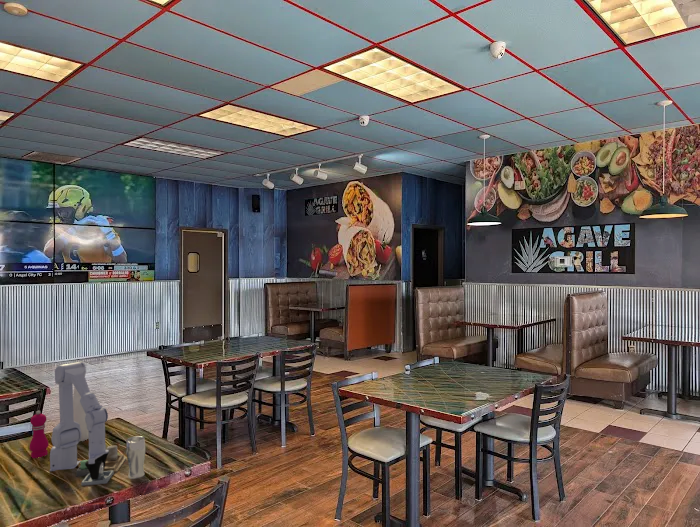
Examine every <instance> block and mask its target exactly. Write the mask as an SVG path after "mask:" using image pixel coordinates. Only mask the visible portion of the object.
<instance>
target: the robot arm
mask: <svg viewBox="0 0 700 527" xmlns="http://www.w3.org/2000/svg"><path fill="white" fill-rule="evenodd" d="M86 368H87V367H86V365H85V363H84V362H83V361H81V360H80V361H77V362H70V363H66V364H59V365H57V366H56V367H55V369H54V382H55V384H57V385H58V401H59V402H58V403H59V423H58V424H56V425H55V427H53V428H52V433H51V434H52V435H51V443H52V447H51V449H50V453H49V466H50V467H49V468H50V469H49V472H56V471H58V470H61V471H62V470H71V469H72V470H73V469H76V467H77V466H78V465H79V464H80V462H81V461H82V460H78V444H79V442H78V441H80V439H81V437H82V433H81V430H80V424H79V423H77V422H75V421H74V415H73V396H74V389H73V388H74V386H75V388H76V390H77V391H78V393H79V394H80V396H81V399H80V403H81V405H82V407H83V410H84V412H85V414H86V416H85V421H86V424H87V430H89V439H88V459H87V460H88V461H86V463H85V466H86V467H87V468H88V470H89V472H90V476H91V479H92V480H95V479H98V477H99V469H100V465H101V463H102V462H103V470H104V468H105V462H106V459H107V456H108V454H109V450H107V445H106V422H107V421H108V419H109V414H108V411H107V408H106V407H104V406H103V405H101V404H100V402H99V399H98V398H97V396H96V394H95V393H93V392H91V391H90V388H89V385H88V382H87V380H86V374H87V369H86Z"/></svg>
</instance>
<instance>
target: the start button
mask: <svg viewBox="0 0 700 527" xmlns="http://www.w3.org/2000/svg"><path fill="white" fill-rule="evenodd" d="M80 461H81V462H80V463H79V464H80V466H81V469H88V468H87V467H86V466H85V463H86V461H88V459H83V460H80Z"/></svg>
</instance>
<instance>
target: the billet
mask: <svg viewBox="0 0 700 527" xmlns="http://www.w3.org/2000/svg"><path fill="white" fill-rule="evenodd" d="M103 479H104V470H103V462H102V463H101V465H100V469H99V477H98V479H95V480H103ZM95 480H92V481H95Z"/></svg>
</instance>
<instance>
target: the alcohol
mask: <svg viewBox="0 0 700 527" xmlns="http://www.w3.org/2000/svg"><path fill="white" fill-rule="evenodd" d="M73 388H74V389H73V415H74V421H75V422H77V423H79V424H80V430H81V433H82V437H81V439H80V441H82V442H85V440H86V441H88V440H89V430H87V424H86V421H85V416H86V414H85V412H84V410H83V407H82V405H81V403H80V399H81V396H80V394H79V393H78V391H77V390H76V388H75V386H74V385H73ZM87 439H88V440H87ZM80 441H78V443H81V442H80Z"/></svg>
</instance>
